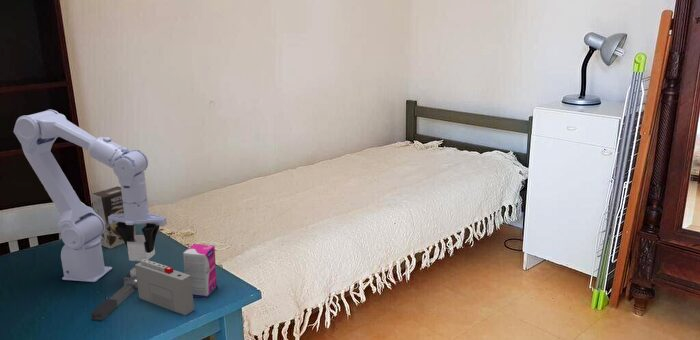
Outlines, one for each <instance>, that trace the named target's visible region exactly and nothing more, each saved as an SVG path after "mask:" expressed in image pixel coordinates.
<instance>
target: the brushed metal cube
mask: <svg viewBox="0 0 700 340" xmlns="http://www.w3.org/2000/svg"><path fill="white" fill-rule="evenodd" d="M127 247H128V249H127V253H128V260H129V261H131V262H141V260H143V259H146V260H149V261H150V259H151V258H152V257H154V256H155V255H156V250H155V249H156V248H155V247H154V250H153V251H152V252H150V253H148V252H147V248H146V241H145V237H144V234H136V235H135V236H134V237H133V238H131V239H130V240H129V241H127ZM127 247H126V248H127Z"/></svg>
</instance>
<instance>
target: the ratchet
mask: <svg viewBox="0 0 700 340" xmlns="http://www.w3.org/2000/svg"><path fill="white" fill-rule="evenodd" d="M129 272H130V273H129V274H127V275H125V276H124V277H123V286H122V287H120V289H118V290H117V291H116V292H115V293H114V294H113V295H112V296H110V297H109V298H106V299H104V301H103V302H101V303H100V304H99V305H98V306H96V307H95V308H94V309H93V310H92V311H91V312H90V314H91V315H90V316H91V320H92V321H101V322H102V321H104V320H105V319H106V318H108V317H109V315H110V314H112V313H113V312H114V311H115V310H116V309H117V308H118V306H119V305H121V304H122V303H123V302H124V301H125V300H126V299H127V298H128V297H129V296H130V295H131V294H133V293H134V292H135V291H138V284H137V277H136V269H135V267H133V268H132V269H130V271H129Z"/></svg>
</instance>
